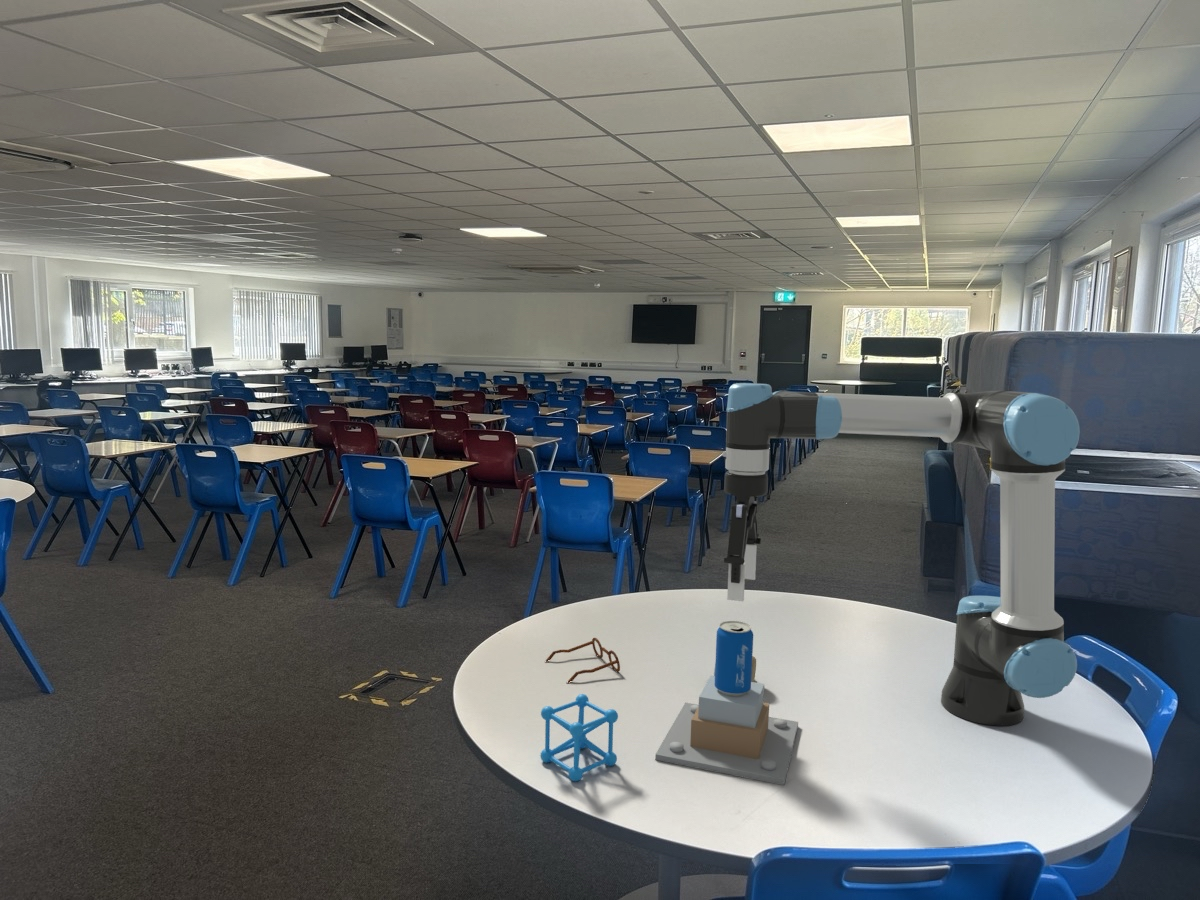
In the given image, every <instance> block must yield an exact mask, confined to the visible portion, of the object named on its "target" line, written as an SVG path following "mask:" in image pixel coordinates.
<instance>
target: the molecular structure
mask: <svg viewBox="0 0 1200 900" xmlns="http://www.w3.org/2000/svg"><path fill="white" fill-rule="evenodd" d="M575 706H577V707H578V708H579V709H578V721H577V722H573V723H570V722H568V721H567V720H565V719H563V718H561V716H560V717H559V716H557V715H556V714H555V713H559V712H562V711H564V710H567V709H569V708H572V707H575ZM586 707H588V708H590V709H592V710H594V711H596V712H597V713H600V714H602V715H603V716H602V717H600V718H597V719H595V720H591V721H589V722H586V723H585V722H584V721H585V708H586ZM540 715H541V718H542V719H543V720H545V725H544V726H545V727H544V728H545V731H544V733H545V734H544V735H545V737H544V738H545V740H544V741H545V743H544V748H543V750H541V752H540V755H539V756H540V760H541V761H542V762H543V763H547V764H549V763H551V762H552V763H554V764H555V765H558V767H561V768H562V769H563V770H564V771H566V772H568V777H569V779H570V780H571V781H572V782H579V781H580V780H582V778H583V775H584V773H586V772H589V771H590V770H591V771H592V770H593V769H596V768H597V767H600V766H602V765H606V766H608V767H612V766H614V765H616V763H617V761H618V758H617V757H618V756H617V754H616V753H615V752H614V751H613V743H614V741H613V739H614V738H613V737H614V736H613V735H614V724H615V723H616V722H617V721H618V719H619V714H618V712H617V710H615V709H613V708H610V709H607V710H605V709H603V708H601V707H600V706H597V705H596V704H594V703H592V702H590V701H589V697H588V696H587V694H584V693H579V694H578V695H576V697H575V701H571V702H568V703H565V704H562V705H560V706H558V707H554V708H553V706H550V705H546V706H544V707H543V708H542V709H541V711H540ZM551 720H553V721H554V722H555V723H557V725H559V726H561V727H562V728H563V729H565V730H566V731H568V732H569V734H570V735H571V738H569V739H567V740H565V741H564V742H562V743H561V744H560V745H558V746H556V747H554V748H553V749H551V748H550V736H551V735H550V731H551V729H550V727H551V722H550V721H551ZM606 723H608V740H607V741H608V742H607V743H608V746H607V747H608V749H607V750H608V751H607V752H606V751H604V750H602V749H601V748H600V747H598V746H597V745H596V744H595V743H593V742H591V741H590V740H589V739H588V738H587V736H586V735H587V734H589V733H590V732H592V731H593V730H595V729H598V728H599V727H600V726H602V725H604V724H606ZM585 748H587V749H588V750H590V751H592V752H594V753H595V754H597V755H599V756H601V757H602V758H603V759H601V760H597V762H593V763H591V764H589V765H586V766H585V767H580V766H579V765H580V756H581V755H580V754H581V753H580V751H581V750H583V749H585ZM570 749H573V766H572V767H570V766H568V764H566V763H564V762H562V761H561V760H559V759H558V758H556V757H555V755H558V754H560V753H562V752H565V751H567V750H570Z"/></svg>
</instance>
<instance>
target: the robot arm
mask: <svg viewBox="0 0 1200 900" xmlns="http://www.w3.org/2000/svg"><path fill="white" fill-rule="evenodd" d="M772 391H773V390H772V386H771V385H770V384H769V383H768V384H767V383H753V382H751V383H750V382H739V383H733V384H732V385H730V387H729V388H728V396H727V405H726V409H725V410H726V411H725V412H726V430H725V432H726V433H725V435H726V437H725V451H722V454H721V456H722V457H725V467H724V468H725V469H726V470H727V471H726V472H725V473H724V482H723V483H724V485H723V486H724V487H723V490H724V492H725V493H726V494H727V495H730V496H735V498H736V500H735V502H734V504H732V505H731V520H730V528H729V535H728V536H729V539H728V545H727V554H726V555H727V556H726V557H724V558H723V563H724V564H728V568H727V569H728V570H727V571H728V572H727V573H728V574H727V596H726V597H727V598H726V600H727V601H737V602H744V600H745V583H746V582H745V580H750V581H751V580H753V581H755V580H756V571H757V568H756V567H757V550H758V549H757V545H761V542H762V538H761V537H760V534H759V514H758V512H759V511H758V508H759V505H758V499H759V498H758V497H763V496H765V495H767V494H768V492H769V491H768V489H769V488H768V487H769V486H768V485H769V475H768V473H766V472H767V471H768V470H770V441H771V439H798V440H799V439H800V440H801V439H803V440H807V439H809V440H817V441H819V440H827V439H828V440H829V439H834V438H836V437H837V436H838V435H839V434H858V435H879V436H880V435H881V436H905V437H925V438H928V437H929V438H931V437H932V438H940V439H941V440H942V441H943V442H944V443H948V444H950V443H951V444H962V445H967V446H970V447H971V446H972V447H975V448H980V449H984V450H987V451H990V470H991V471H992V472H993V473H994V474H995V475H996V476H997V477H998V478H999V484H1000V485H999V492H1000V493H999V497H1000V498H999V499H1000V501H999V502H1000V504H999V509H1000V510H999V512H1000V515H999V517H1000V520H999V525H1000V531H999V533H1000V534H999V535H1000V538H999V542H1000V546H999V547H1000V550H999V551H1000V553H999V554H1000V555H999V556H1000V559H999V560H1000V596H993V595H968V596H964V597H961V599H960V600H959V602H958V606H957V611H956V627H955V639H954V653H953V664H952V665H953V666H952V668H951V670H950V672H949V673H948V677H947V679H946V681H945V683H944V685H943V686H942V689H941V697H940V703H941V705H942V707H943V708H944V709H945V710H946V711H947V712H950V713H951V714H953V715H954V716H957V717H959V718H962V719H964V720H966V721H969V722H973V723H977V724H980V725H981V724H983V725H988V726H989V725H990V726H998V727H999V726H1000V727H1002V726H1004V727H1005V726H1007V727H1008V726H1014V725H1017V724H1019V723H1021V722H1022V721H1023V720H1024V719H1025V718H1024V716H1025V703H1024V698H1023V696H1022V695H1025V696H1026V697H1030V698H1035V699H1042V698H1043V699H1044V698H1048V697H1049V698H1050V697H1053V696H1055V695H1057V694H1059V693H1060V692H1062V691H1063V689H1064V688H1065V687H1068V686H1069V685H1070V683H1071V682H1073V679H1075V676H1076V673H1077V670H1078V660H1077V657H1076V654H1075V652H1074V650H1073V649H1072V647H1071V646H1070V645H1069V644H1068V643H1067V642H1065V640H1064V639H1065V636H1064V635H1065V633H1064V631H1065V629H1064V628H1065V627H1064V625H1065V621H1064V618H1063V617H1062V616H1061V615H1060V614H1059V613H1058V612H1057V611H1056V610H1055V542H1056V541H1055V540H1056V539H1055V535H1056V533H1055V530H1056V529H1055V528H1056V526H1055V523H1056V521H1055V520H1056V519H1055V515H1056V513H1055V512H1056V511H1055V510H1056V509H1055V507H1056V506H1055V505H1056V500H1055V499H1056V479H1057V478H1058V477H1059V476H1061V475H1062V474H1063V473H1064V472H1065V471H1066V459H1068V458H1069V457H1070V456H1071V453H1072V451H1074V450H1076V448H1077V446H1078V444H1079V439H1080V434H1081V433H1080V431H1081V430H1080V429H1081V428H1080V423H1079V420H1078V417H1077V415H1076V414H1075V411H1073V409H1072V408H1071V407H1070V406H1068V405H1067V403H1065V401H1063V400H1061V399H1059V398H1057V397H1054V396H1051V395H1048V394H1044V393H1040V392H1026V391H1012V390H1003V389H1002V390H987V391H976V392H948V393H946V394H944V396H942V397H939V396H937V397H935V396H934V397H933V396H910V395H909V396H908V395H907V396H905V395H885V394H884V395H883V394H881V395H880V394H863V393H862V394H860V393H859V394H855V393H835V392H834V393H832V392H830V393H829V392H808V391H791V390H785V389H784V390H778V391H774V392H772ZM759 537H760V538H759Z"/></svg>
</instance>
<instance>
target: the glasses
mask: <svg viewBox="0 0 1200 900" xmlns="http://www.w3.org/2000/svg"><path fill="white" fill-rule="evenodd" d="M595 642H596V643H595ZM596 644H597V646H598V648H599V653H600V654H599V653H598V651H597V648H596V646H595V645H596ZM591 645H592V649H593V651H594V654H595V655H596V656H597V655H598V656H599V657H600V658H599V657H598V656H597V657H598V658H599V659H602V658H603V657H604V654H605V653H606V655H607V656H608V660H609V662H607V663H605V664H602V665H599V666H597V667H594V668H591V669H583V670H578V671H575V673H573V675H571V677H569V679H568V680H567V681H568V682H570V681H572V682H573V681H574V680H575V679H576V678H577V677H578V676H579V675H583V674H591V673H594V672H598V671H600V670H603V669H605V668H608V667H611V668H612V670H614V669H615V670H616V671H617V672H616V671H615V670H614V671H615V672H616V673H618V672H620V670H621V665H620V661H619V658H618V655H617V653H616V652H614V650H609V651H608V650H607V649H606V648H605V647H603V646H602V644H601V642H600V640H599V639H598V638H597V637H593V638H592V640H591V641H588V642H585V643H582V644H580V645H577V646H574V647H571V648H569V649H558V650H553V651H552V652H551V653H550V654H549V656H548V657H547V658H546V660H545V661H548V660H550V661H551V660H552V659H553V657H554V656H555V655H556V654H560V653H571V652H574V651H576V650H579V649H582V648H585V647H588V646H591ZM612 655H613V657H614V659H615V660H613V661H612ZM615 664H616V666H617V668H616V666H615Z"/></svg>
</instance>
